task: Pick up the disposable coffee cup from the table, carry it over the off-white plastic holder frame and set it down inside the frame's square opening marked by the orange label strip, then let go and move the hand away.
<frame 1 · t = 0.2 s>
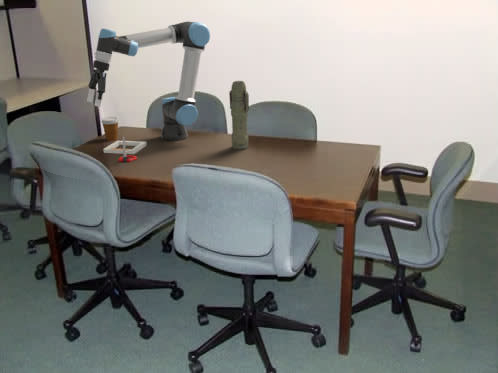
hand: (93, 104, 274), 28 cm above the table, tool tilted 20°, fingers open, 13 cm apart
holder frame: (125, 149, 297), on the table
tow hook: (128, 159, 280), on the table
olive green statue: (240, 147, 297), on the table
disposable coffee cup: (112, 139, 316), on the table
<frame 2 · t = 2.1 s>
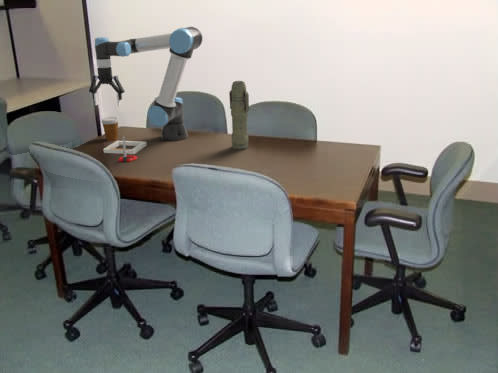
hand: (108, 105, 309), 20 cm above the table, tool pointing down, fingers open, 13 cm apart
nothing on the table moved.
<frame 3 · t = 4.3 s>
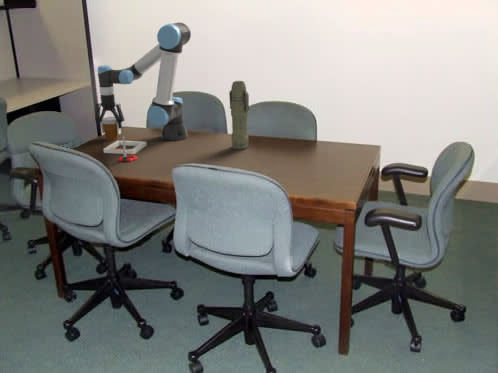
hand: (111, 133, 315), 4 cm above the table, tool pointing down, fingers closed on disposable coffee cup, 9 cm apart
disposable coffee cup: (112, 139, 316), on the table, touching gripper
everything else where it was.
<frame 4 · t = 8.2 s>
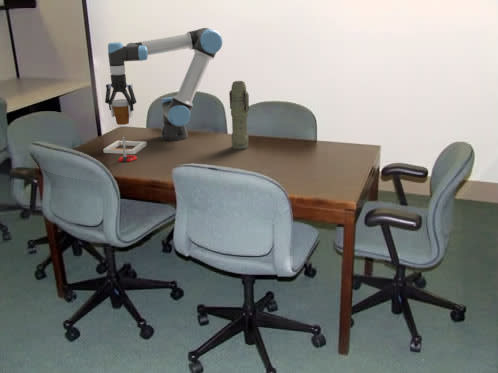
hand: (122, 116, 291), 18 cm above the table, tool pointing down, fingers closed on disposable coffee cup, 9 cm apart
disposable coffee cup: (122, 123, 293), point 14 cm above the table, touching gripper
everything else where it was.
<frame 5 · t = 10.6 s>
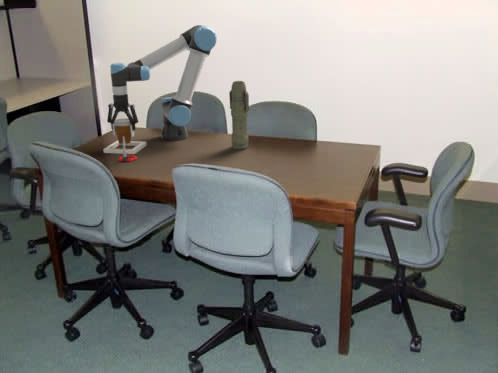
hand: (124, 135, 294), 7 cm above the table, tool pointing down, fingers closed on disposable coffee cup, 9 cm apart
disposable coffee cup: (124, 142, 296), point 4 cm above the table, touching gripper
everything else where it was.
when the fingers open (4 cm above the table, at t = 12.4 s): disposable coffee cup stays where it is, resting in holder frame.
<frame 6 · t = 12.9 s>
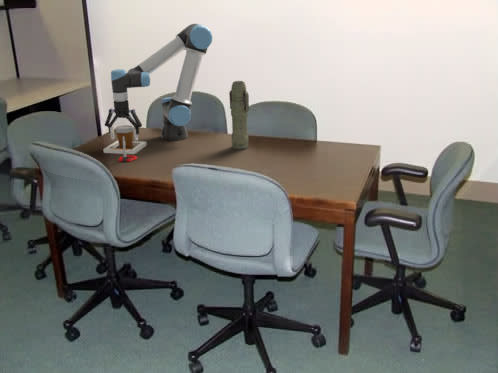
hand: (124, 139, 295), 5 cm above the table, tool pointing down, fingers open, 13 cm apart
disposable coffee cup: (126, 149, 297), resting in holder frame
everything else where it was.
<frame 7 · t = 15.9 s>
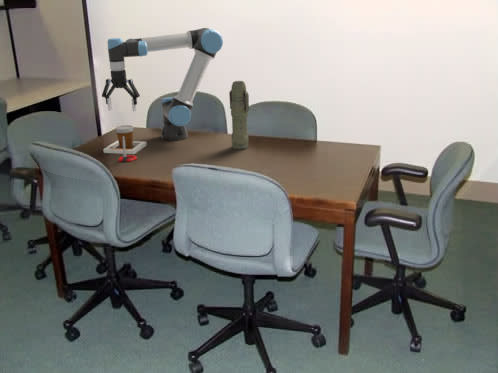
hand: (122, 110, 290), 21 cm above the table, tool pointing down, fingers open, 13 cm apart
nothing on the table moved.
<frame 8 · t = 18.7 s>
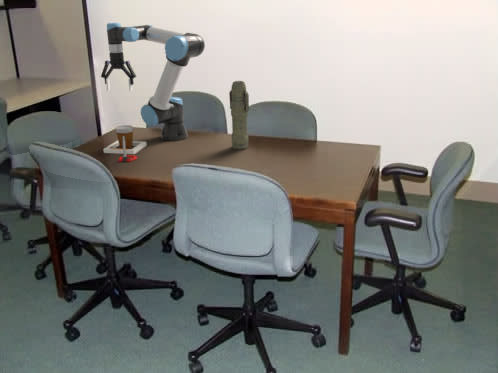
hand: (119, 90, 313), 27 cm above the table, tool pointing down, fingers open, 13 cm apart
nothing on the table moved.
at the end: disposable coffee cup inside the target area on the holder frame (0.4 cm from its centre), point 0.0 cm above the holder frame's base; disposable coffee cup tilted 0°; the gripper is holding nothing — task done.
